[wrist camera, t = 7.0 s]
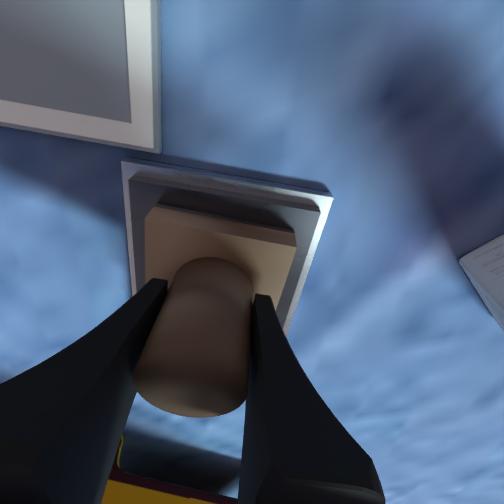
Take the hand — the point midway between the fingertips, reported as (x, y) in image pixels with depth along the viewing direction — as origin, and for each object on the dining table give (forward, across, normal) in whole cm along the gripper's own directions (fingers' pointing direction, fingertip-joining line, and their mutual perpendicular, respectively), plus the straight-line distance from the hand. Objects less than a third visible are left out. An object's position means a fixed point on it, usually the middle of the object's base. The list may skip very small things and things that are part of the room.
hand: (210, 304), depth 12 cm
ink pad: (+3, 0, 0) cm, 3 cm away
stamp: (+2, 0, 0) cm, 2 cm away
